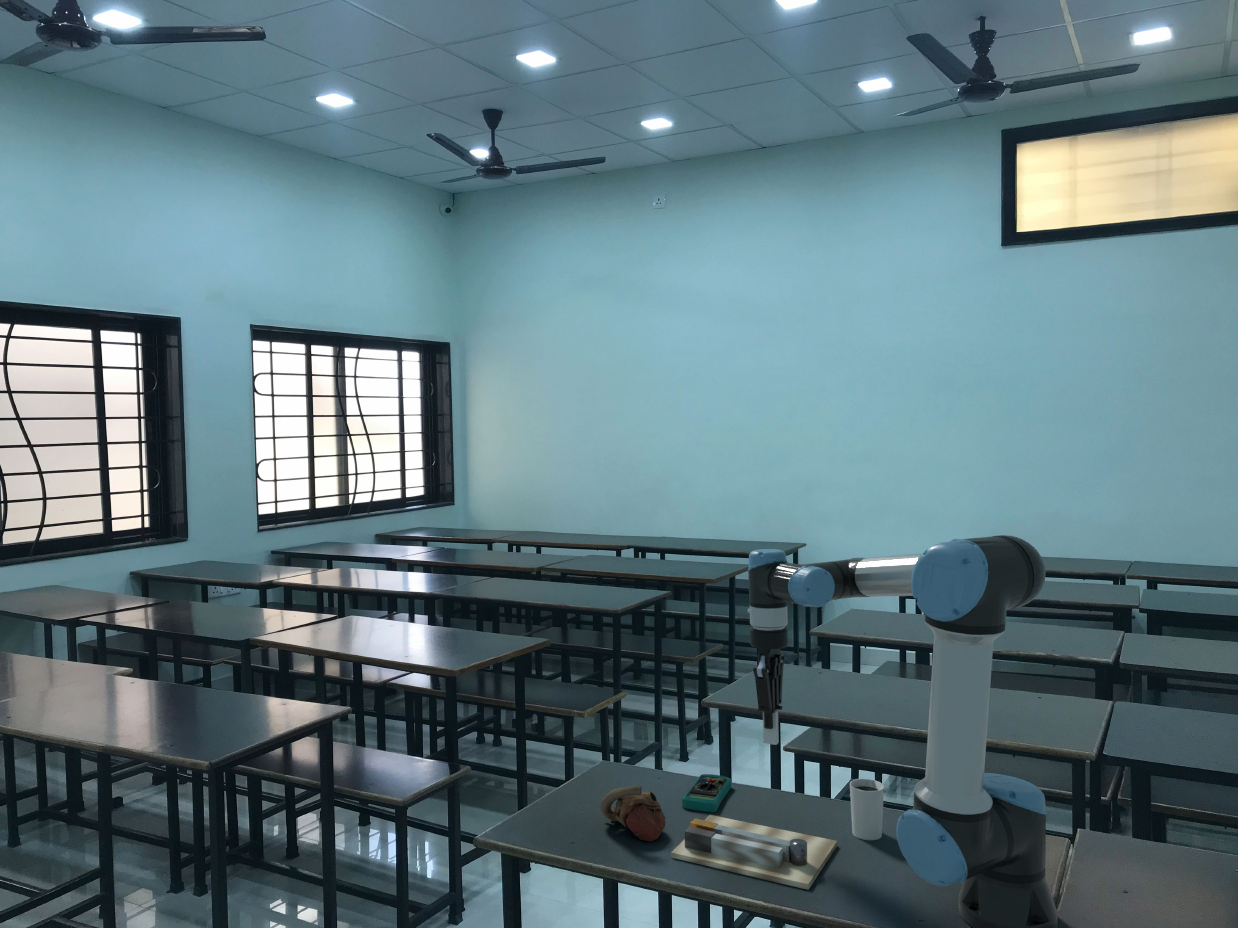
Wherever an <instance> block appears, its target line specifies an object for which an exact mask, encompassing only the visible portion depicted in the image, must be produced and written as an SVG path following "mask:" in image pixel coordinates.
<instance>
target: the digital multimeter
mask: <svg viewBox="0 0 1238 928" xmlns="http://www.w3.org/2000/svg"><path fill="white" fill-rule="evenodd" d="M696 779H697V780H696V781H695V783H694V784H693V786H691V788H690V789H689V791H687V793H686V794H685V795H683V797H682V798H681V801H682V803H681V804H682V805H681V806H682V808H684V809H687V810H693V811H699V812H700V811H701V812H708V813H716V812H717V810H718V808H719V807H720V805H721V803H722V801H723V800H724V799H725V797H726V796H727V794H728V792H729V791H730V790H731V789H732V778H729V777H728V776H724V775H719V774H713V773H711V774H710V773H709V774H708V773H703V774H702V773H701V774H700V775H699V776H698V778H696Z"/></svg>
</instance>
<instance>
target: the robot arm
mask: <svg viewBox="0 0 1238 928" xmlns="http://www.w3.org/2000/svg"><path fill="white" fill-rule="evenodd" d="M747 572H748V598H749V599H748V601H749V608H747V613H748V614H749V624H750V628H749V645H750V646H751V647H752V648H756V649H758V654H757V657H756V664H757V666H753V668H752V670H753V675H754V679H755V688H756V698H757V705H758V707H757V708H758V709H757V711H758V712H760V713H761V712H762V731H763V732H762V735H763V741H762V742H763V744H767V745H775V746H777V745H778V744H779V741H780V740H779V738H780V737H779V736H780V735H779V711H782V710H783V708H784V707H783V706H782V705H781V704H782V702H783V700H782V699H783V683H784V682H783V680H784V678H783V677H784V664H785V659H786V657H785V655H784V654H781V649H783V648H784V649H785V648H786V647H787V646H789V645H788V644H789V635H788V633H789V632H788V631H789V630H788V628H787V627H786V626H788V624H789V623H788V622H789V621H788V603H791V604H796V605H800V606H802V607H806V608H809V607H813V608H821V607H824V606H825V605H827V603H829V602H830V601H836V600H844V599H851V598H871V597H909V596H910V597H913V599H914V600H915V599H916V601H917V602H916V605H917V607H918V609H919V610H920V611H921V612H922V613H923V614H924V624H925V625H926V626H927V627H928V628H929V630H931V631H932V633H933V645H932V646H933V647H932V648H933V650H932V651H933V652H932V662H931V663H932V664H931V678H930V679H931V682H930V697H929V712H928V727H927V729H928V730H927V743H926V744H927V746H926V755H925V756H926V757H925V759H926V760H925V775H924V777H923V778H922V779H920V780H919V781H918V782H916V784H915V786H914V789H913V793H914V794H913V802H912V803H913V806H912V809H911V808H909V809H907V810H905V811H904V812H903V814H901V815H900V816H899V817H898V820H897V823H896V829H895V830H896V831H895V832H896V834H895V835H896V839H897V844H898V847H899V850H900V852H901V853H902V854H901V855H902V857H904V858H905V860H906V862H907V864H908V866H909V867H910V869H911V870H913V872H914V873H915V874H916V875H917V876H918V877H919V878H921V879H922V880H923V881H925V882H926V883H928V884H930V885H933V886H936V887H947V886H948V887H949V886H951V885H957V884H962V885H961V888H960V891H959V893H958V912H959V916H960V917H961V918H962V920H963V921H964V922H965V923H967V925H969V926H970V927H972V928H1058V911H1057V908H1056V904H1055V902H1054V900H1053V896H1052V893H1051V890H1050V887H1049V884H1048V880H1047V877H1046V872H1047V870H1046V864H1047V863H1046V861H1047V860H1046V857H1047V854H1046V853H1047V852H1046V851H1047V850H1046V848H1047V847H1046V846H1047V844H1046V843H1047V841H1046V840H1047V839H1046V836H1047V835H1046V834H1047V833H1046V832H1047V830H1046V829H1047V828H1046V827H1047V825H1046V824H1047V823H1046V822H1047V821H1046V820H1047V815H1048V812H1047V810H1046V809H1047V808H1046V798H1045V794H1044V792H1042V790H1041V788H1039V787H1038V786H1037V785H1035V784H1033V783H1031V782H1029V781H1026V780H1024V779H1021V778H1018V777H1016V776H1015V777H1014V776H1011V775H1007V774H1006V775H1005V774H1001V773H1000V774H999V773H994V772H985V766H986V764H985V763H986V751H987V738H988V737H987V736H988V735H987V734H988V723H989V722H988V721H989V708H990V707H989V706H990V696H991V695H990V694H991V693H990V692H991V683H992V682H991V680H992V679H991V678H992V668H993V667H992V666H993V653H994V651H993V649H994V642H995V640H996V639H998V638H999V637H1001V636H1002V635H1003V634H1005V632H1006V620H1007V611H1008V610H1013V609H1017V608H1018V609H1019V608H1021V607H1023V606H1025V605H1027V604H1029V603H1030V602H1032V601H1033V600H1035V598H1037V596H1039V594H1040V593H1041V591H1042V589H1043V587H1044V584H1045V581H1046V565H1045V563H1044V560H1043V557H1042V555H1041V554H1040V553H1039V551H1038V550H1037V549H1036V548H1035V546H1033V545H1032V544H1031V543H1030V542H1028V541H1026V540H1025V539H1022V538H1020V537H1017V536H1013V535H1005V534H1004V535H1003V534H1002V535H993V536H983V537H974V538H973V537H972V538H962V539H961V538H954V539H949V540H946V541H944V542H938V543H935V544H933V545H931V546H929V547H928V548H926V549H925V551H923V552H922V553H914V554H913V553H911V554H900V555H888V556H886V555H884V556H874V557H852V558H850V559H848V558H847V559H841V560H834V561H833V560H832V561H825V562H813V563H805V564H804V563H802V564H797V563H790V562H788V559H787V554H786V552H785V551H784V550H782V549H778V548H763V549H755V550H752V551H751V552H750V553H749V554H748V568H747ZM778 710H779V711H778Z"/></svg>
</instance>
